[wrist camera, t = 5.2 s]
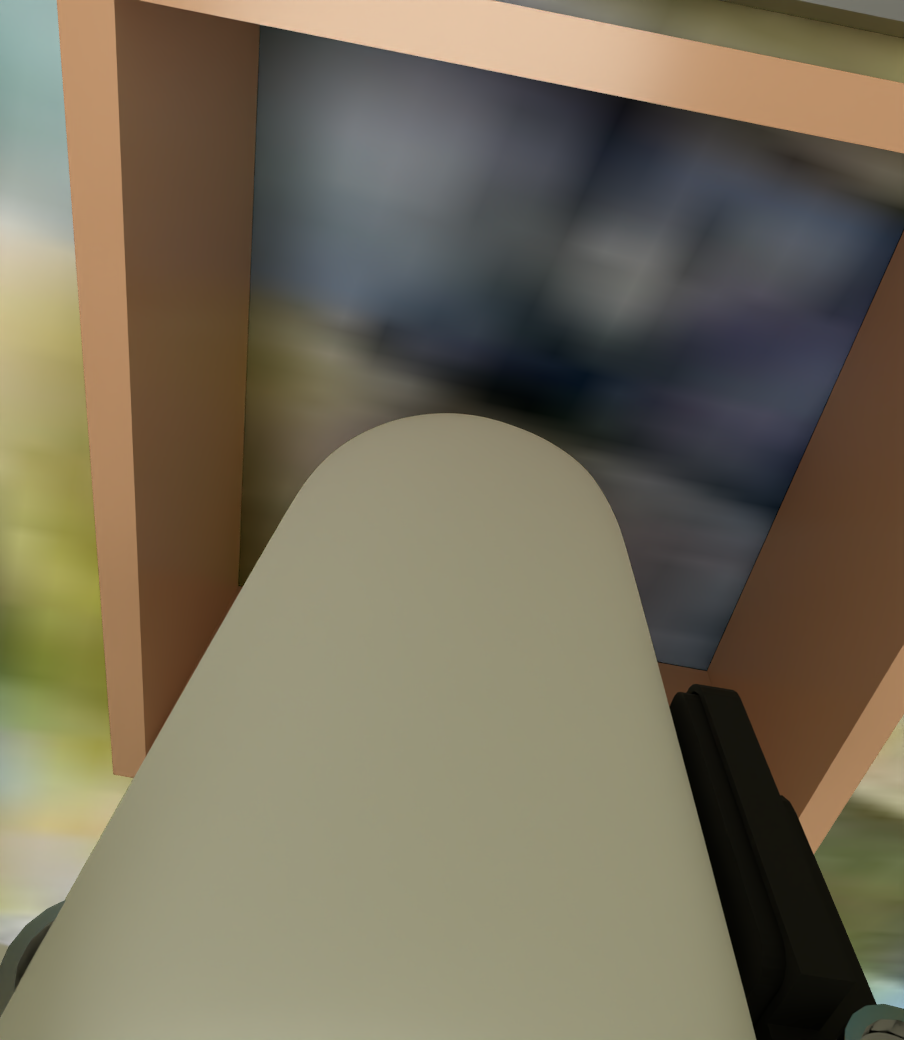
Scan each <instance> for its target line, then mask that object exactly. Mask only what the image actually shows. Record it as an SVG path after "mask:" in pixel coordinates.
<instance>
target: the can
mask: <svg viewBox="0 0 904 1040" xmlns="http://www.w3.org/2000/svg"><path fill="white" fill-rule="evenodd" d="M65 900H66V901H65ZM65 900H64V901H65V903H64V904H63V906H62V908H61V910H60V911H59V913H58V915H57V917H56V919H55V920H54V922H53V923H52V925H51V927H50V928H49V930H48V932H47V933H46V935H45V937H44V939H43V940H42V942H41V944H40V945H39V947H38V949H37V951H36V952H35V954H34V956H33V958H32V960H31V961H30V963H29V965H28V967H27V968H26V970H25V972H24V974H23V976H22V977H21V979H20V981H19V983H18V985H17V987H16V989H15V992H14V994H13V995H12V997H11V999H10V1001H9V1003H8V1004H7V1006H6V1008H5V1010H4V1012H3V1013H2V1015H1V1017H0V1040H756V1036H755V1032H754V1028H753V1025H752V1021H751V1017H750V1013H749V1009H748V1005H747V1001H746V997H745V993H744V989H743V986H742V982H741V978H740V974H739V970H738V966H737V963H736V959H735V955H734V951H733V947H732V944H731V940H730V936H729V932H728V928H727V924H726V921H725V917H724V913H723V909H722V905H721V901H720V898H719V894H718V890H717V886H716V882H715V878H714V875H713V871H712V867H711V863H710V859H709V855H708V852H707V848H706V844H705V840H704V836H703V833H702V829H701V825H700V821H699V818H698V814H697V810H696V806H695V802H694V799H693V795H692V791H691V787H690V783H689V780H688V776H687V772H686V768H685V765H684V761H683V757H682V753H681V749H680V746H679V742H678V738H677V734H676V730H675V727H674V723H673V719H672V715H671V712H670V708H669V704H668V700H667V697H666V693H665V689H664V685H663V682H662V678H661V674H660V670H659V667H658V663H657V659H656V656H655V652H654V648H653V644H652V641H651V637H650V633H649V629H648V626H647V622H646V618H645V615H644V611H643V607H642V604H641V600H640V596H639V593H638V589H637V585H636V582H635V578H634V574H633V571H632V567H631V564H630V560H629V557H628V553H627V550H626V546H625V543H624V540H623V537H622V534H621V530H620V527H619V525H618V522H617V520H616V517H615V515H614V513H613V511H612V509H611V507H610V505H609V503H608V501H607V499H606V497H605V495H604V494H603V492H602V490H601V489H600V487H599V486H598V484H597V483H596V481H595V480H594V479H593V477H592V476H591V475H590V474H589V472H588V471H587V470H586V469H585V468H584V467H583V466H582V465H581V464H580V463H579V462H578V461H576V460H575V459H574V458H573V457H572V456H570V455H569V454H568V453H566V452H565V451H563V450H562V449H560V448H559V447H557V446H556V445H554V444H552V443H550V442H549V441H547V440H545V439H543V438H541V437H539V436H537V435H535V434H533V433H531V432H528V431H526V430H523V429H521V428H518V427H515V426H513V425H510V424H507V423H504V422H501V421H497V420H493V419H490V418H485V417H481V416H475V415H468V414H457V413H436V414H424V415H417V416H411V417H406V418H402V419H398V420H394V421H391V422H388V423H385V424H382V425H379V426H377V427H374V428H372V429H370V430H368V431H365V432H363V433H362V434H360V435H358V436H356V437H354V438H353V439H351V440H349V441H348V442H346V443H345V444H343V445H342V446H340V447H339V448H338V449H336V450H335V451H334V452H333V453H332V454H330V455H329V456H328V457H327V458H326V459H325V460H324V461H323V462H322V463H321V464H320V465H319V466H318V467H317V468H316V469H315V471H314V472H313V473H312V474H311V475H310V477H309V478H308V479H307V480H306V482H305V483H304V485H303V486H302V488H301V489H300V491H299V492H298V494H297V495H296V497H295V498H294V500H293V502H292V503H291V505H290V507H289V508H288V510H287V512H286V513H285V515H284V517H283V518H282V520H281V522H280V524H279V525H278V527H277V529H276V530H275V532H274V534H273V535H272V537H271V539H270V541H269V542H268V544H267V546H266V548H265V549H264V551H263V553H262V554H261V556H260V558H259V560H258V561H257V563H256V565H255V567H254V568H253V570H252V572H251V573H250V575H249V577H248V579H247V580H246V582H245V584H244V586H243V587H242V589H241V591H240V593H239V594H238V596H237V598H236V600H235V601H234V603H233V605H232V607H231V608H230V610H229V612H228V614H227V615H226V617H225V619H224V621H223V622H222V624H221V626H220V627H219V629H218V631H217V633H216V634H215V636H214V638H213V640H212V641H211V643H210V645H209V647H208V648H207V650H206V652H205V654H204V655H203V657H202V659H201V661H200V662H199V664H198V666H197V668H196V669H195V671H194V673H193V675H192V676H191V678H190V680H189V682H188V684H187V685H186V687H185V689H184V691H183V692H182V694H181V696H180V698H179V699H178V701H177V703H176V705H175V706H174V708H173V710H172V712H171V713H170V715H169V717H168V719H167V720H166V722H165V724H164V726H163V727H162V729H161V731H160V733H159V734H158V736H157V738H156V740H155V741H154V743H153V745H152V747H151V749H150V750H149V752H148V754H147V756H146V757H145V759H144V761H143V763H142V764H141V766H140V768H139V770H138V771H137V773H136V775H135V777H134V778H133V780H132V782H131V784H130V786H129V787H128V789H127V791H126V793H125V794H124V796H123V798H122V800H121V801H120V803H119V805H118V807H117V809H116V810H115V812H114V814H113V816H112V817H111V819H110V821H109V823H108V824H107V826H106V828H105V830H104V831H103V833H102V835H101V837H100V839H99V840H98V842H97V844H96V846H95V847H94V849H93V851H92V853H91V854H90V856H89V858H88V860H87V862H86V863H85V865H84V867H83V869H82V870H81V872H80V874H79V876H78V877H77V879H76V881H75V883H74V885H73V886H72V888H71V890H70V892H69V893H68V895H67V897H66V899H65Z"/></svg>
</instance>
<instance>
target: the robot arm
mask: <svg viewBox="0 0 904 1040" xmlns="http://www.w3.org/2000/svg"><path fill="white" fill-rule="evenodd" d="M669 708H670V712H671V715H672V719H673V723H674V727H675V730H676V734H677V738H678V742H679V746H680V749H681V753H682V757H683V761H684V765H685V768H686V772H687V776H688V780H689V783H690V787H691V791H692V795H693V799H694V802H695V806H696V810H697V814H698V818H699V821H700V825H701V829H702V833H703V836H704V840H705V844H706V848H707V852H708V855H709V859H710V863H711V867H712V871H713V875H714V878H715V882H716V886H717V890H718V894H719V898H720V901H721V905H722V909H723V913H724V917H725V921H726V924H727V928H728V932H729V936H730V940H731V944H732V947H733V951H734V955H735V959H736V963H737V966H738V970H739V974H740V978H741V982H742V986H743V989H744V993H745V997H746V1001H747V1005H748V1009H749V1013H750V1017H751V1021H752V1025H753V1028H754V1032H755V1036H756V1040H904V1009H902V1008H898V1007H894V1006H890V1005H886V1004H878V1005H877V1004H876V1002H875V999H874V997H873V995H872V992H871V990H870V987H869V985H868V983H867V980H866V978H865V976H864V973H863V971H862V968H861V966H860V964H859V961H858V959H857V957H856V954H855V952H854V949H853V947H852V945H851V942H850V940H849V937H848V935H847V933H846V930H845V928H844V926H843V923H842V921H841V918H840V916H839V914H838V911H837V909H836V907H835V904H834V902H833V899H832V897H831V895H830V892H829V890H828V887H827V885H826V883H825V880H824V878H823V876H822V873H821V871H820V868H819V866H818V864H817V861H816V859H815V856H814V854H813V852H812V849H811V847H810V845H809V842H808V840H807V837H806V835H805V833H804V830H803V828H802V826H801V823H800V821H799V818H798V816H797V814H796V812H795V810H794V808H793V806H792V804H791V803H790V801H789V800H787V799H786V798H785V797H784V796H783V795H780V793H779V791H778V789H777V786H776V784H775V781H774V779H773V776H772V774H771V771H770V769H769V766H768V764H767V762H766V759H765V757H764V754H763V752H762V749H761V747H760V744H759V742H758V740H757V737H756V735H755V732H754V730H753V727H752V725H751V722H750V720H749V717H748V715H747V713H746V710H745V708H744V705H743V703H742V700H741V698H740V696H739V694H738V693H737V692H736V691H734V690H731V689H725V688H719V687H712V686H706V685H700V684H693V685H692V686H690V687H689V689H688V691H687V692H686V693H684V692H677V693H676V694H675V696H674V698H673V700H672V702H671V704H670V707H669ZM65 901H66V900H65ZM65 901H63V902H60V903H58V904H56V905H54V906H52V907H50V908H48V909H46V910H45V911H44V912H43V913H41V914H40V915H39V916H37V917H36V918H35V919H34V920H32V921H31V922H30V923H28V924H27V925H26V926H25V927H24V928H23V930H22V931H21V932H20V933H19V935H18V936H17V937H16V938H15V940H14V941H13V942H12V943H11V945H10V946H9V947H8V949H7V951H6V954H5V956H4V958H3V960H2V963H1V965H0V1017H1V1015H2V1013H3V1012H4V1010H5V1008H6V1006H7V1004H8V1003H9V1001H10V999H11V997H12V995H13V994H14V992H15V989H16V987H17V985H18V983H19V981H20V979H21V977H22V976H23V974H24V972H25V970H26V968H27V967H28V965H29V963H30V961H31V960H32V958H33V956H34V954H35V952H36V951H37V949H38V947H39V945H40V944H41V942H42V940H43V939H44V937H45V935H46V933H47V932H48V930H49V928H50V927H51V925H52V923H53V922H54V920H55V919H56V917H57V915H58V913H59V911H60V910H61V908H62V906H63V904H64V903H65Z"/></svg>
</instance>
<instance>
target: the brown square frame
mask: <svg viewBox="0 0 904 1040" xmlns="http://www.w3.org/2000/svg"><path fill="white" fill-rule="evenodd" d="M57 9H58V22H59V36H60V50H61V63H62V77H63V91H64V104H65V118H66V132H67V146H68V159H69V173H70V187H71V200H72V214H73V228H74V241H75V255H76V269H77V282H78V296H79V310H80V323H81V337H82V351H83V365H84V378H85V392H86V406H87V419H88V433H89V447H90V460H91V474H92V488H93V501H94V515H95V529H96V543H97V556H98V570H99V584H100V597H101V611H102V625H103V638H104V652H105V666H106V679H107V693H108V707H109V721H110V734H111V748H112V762H113V774H114V775H120V776H126V777H131V778H134V777H135V775H136V773H137V771H138V770H139V768H140V766H141V764H142V763H143V761H144V759H145V757H146V756H147V754H148V752H149V750H150V749H151V747H152V745H153V743H154V741H155V740H156V738H157V736H158V734H159V733H160V731H161V729H162V727H163V726H164V724H165V722H166V720H167V719H168V717H169V715H170V713H171V712H172V710H173V708H174V706H175V705H176V703H177V701H178V699H179V698H180V696H181V694H182V692H183V691H184V689H185V687H186V685H187V684H188V682H189V680H190V678H191V676H192V675H193V673H194V671H195V669H196V668H197V666H198V664H199V662H200V661H201V659H202V657H203V655H204V654H205V652H206V650H207V648H208V647H209V645H210V643H211V641H212V640H213V638H214V636H215V634H216V633H217V631H218V629H219V627H220V626H221V624H222V622H223V621H224V619H225V617H226V615H227V614H228V612H229V610H230V608H231V607H232V605H233V603H234V601H235V600H236V598H237V596H238V594H239V593H240V591H241V589H242V587H241V586H238V580H239V554H240V528H241V502H242V476H243V450H244V424H245V399H246V373H247V347H248V321H249V295H250V269H251V243H252V217H253V191H254V165H255V140H256V114H257V88H258V62H259V36H260V25H265V26H270V27H275V28H280V29H285V30H290V31H295V32H300V33H305V34H310V35H315V36H320V37H325V38H330V39H335V40H340V41H345V42H350V43H355V44H360V45H365V46H370V47H375V48H380V49H385V50H390V51H395V52H400V53H405V54H410V55H415V56H420V57H425V58H430V59H435V60H440V61H445V62H450V63H455V64H460V65H465V66H470V67H475V68H480V69H485V70H490V71H495V72H500V73H505V74H510V75H515V76H520V77H525V78H530V79H535V80H540V81H545V82H550V83H555V84H560V85H565V86H570V87H575V88H580V89H585V90H590V91H595V92H600V93H605V94H610V95H615V96H620V97H625V98H630V99H635V100H640V101H645V102H650V103H655V104H660V105H665V106H670V107H675V108H680V109H685V110H690V111H695V112H700V113H705V114H710V115H715V116H720V117H725V118H730V119H735V120H740V121H745V122H750V123H755V124H760V125H765V126H770V127H775V128H780V129H785V130H790V131H795V132H800V133H805V134H810V135H815V136H820V137H825V138H830V139H835V140H840V141H845V142H850V143H855V144H860V145H865V146H870V147H875V148H880V149H885V150H890V151H895V152H900V153H904V83H899V82H894V81H889V80H884V79H879V78H874V77H869V76H864V75H860V74H855V73H850V72H845V71H840V70H835V69H830V68H825V67H820V66H815V65H810V64H805V63H800V62H795V61H790V60H785V59H780V58H776V57H771V56H766V55H761V54H756V53H751V52H746V51H741V50H736V49H731V48H726V47H721V46H716V45H711V44H706V43H701V42H696V41H692V40H687V39H682V38H677V37H672V36H667V35H662V34H657V33H652V32H647V31H642V30H637V29H632V28H627V27H622V26H617V25H612V24H608V23H603V22H598V21H593V20H588V19H583V18H578V17H573V16H568V15H563V14H558V13H553V12H548V11H543V10H538V9H533V8H528V7H524V6H519V5H514V4H509V3H504V2H499V1H494V0H57ZM657 663H658V667H659V670H660V674H661V678H662V682H663V685H664V689H665V693H666V697H667V700H668V704H669V707H670V704H671V702H672V700H673V698H674V696H675V694H676V693H677V692H684V693H686V692H687V691H688V689H689V687H690V686H692V685H693V684H700V685H706V686H712V687H719V688H725V689H731V690H734V691H736V692H737V693H738V694H739V696H740V698H741V700H742V703H743V705H744V708H745V710H746V713H747V715H748V717H749V720H750V722H751V725H752V727H753V730H754V732H755V735H756V737H757V740H758V742H759V744H760V747H761V749H762V752H763V754H764V757H765V759H766V762H767V764H768V766H769V769H770V771H771V774H772V776H773V779H774V781H775V784H776V786H777V789H778V791H779V793H780V795H783V796H784V797H785V798H786V799H787V800H789V801H790V803H791V804H792V806H793V808H794V810H795V812H796V814H797V816H798V818H799V821H800V823H801V826H802V828H803V830H804V833H805V835H806V837H807V840H808V842H809V845H810V847H811V849H812V852H813V854H814V853H815V852H816V850H817V849H818V847H819V845H820V844H821V842H822V841H823V839H824V838H825V836H826V835H827V833H828V831H829V830H830V828H831V827H832V825H833V824H834V822H835V821H836V819H837V817H838V816H839V814H840V813H841V811H842V810H843V808H844V806H845V805H846V803H847V802H848V800H849V799H850V797H851V796H852V794H853V792H854V791H855V789H856V788H857V786H858V785H859V783H860V782H861V780H862V778H863V777H864V775H865V774H866V772H867V771H868V769H869V767H870V766H871V764H872V763H873V761H874V760H875V758H876V757H877V755H878V753H879V752H880V750H881V749H882V747H883V746H884V744H885V743H886V741H887V739H888V738H889V736H890V735H891V733H892V732H893V730H894V728H895V727H896V725H897V724H898V722H899V721H900V719H901V718H902V716H903V714H904V232H903V234H902V236H901V238H900V241H899V243H898V245H897V247H896V249H895V252H894V254H893V256H892V258H891V261H890V263H889V265H888V267H887V270H886V272H885V274H884V276H883V279H882V281H881V283H880V285H879V287H878V290H877V292H876V294H875V296H874V299H873V301H872V303H871V305H870V308H869V310H868V312H867V314H866V317H865V319H864V321H863V323H862V326H861V328H860V330H859V332H858V334H857V337H856V339H855V341H854V343H853V346H852V348H851V350H850V352H849V355H848V357H847V359H846V361H845V364H844V366H843V368H842V370H841V373H840V375H839V377H838V379H837V381H836V384H835V386H834V388H833V390H832V393H831V395H830V397H829V399H828V402H827V404H826V406H825V408H824V411H823V413H822V415H821V417H820V419H819V422H818V424H817V426H816V428H815V431H814V433H813V435H812V437H811V440H810V442H809V444H808V446H807V449H806V451H805V453H804V455H803V458H802V460H801V462H800V464H799V466H798V469H797V471H796V473H795V475H794V478H793V480H792V482H791V484H790V487H789V489H788V491H787V493H786V496H785V498H784V500H783V502H782V505H781V507H780V509H779V511H778V513H777V516H776V518H775V520H774V522H773V525H772V527H771V529H770V531H769V534H768V536H767V538H766V540H765V543H764V545H763V547H762V549H761V551H760V554H759V556H758V558H757V560H756V563H755V565H754V567H753V569H752V572H751V574H750V576H749V578H748V581H747V583H746V585H745V587H744V590H743V592H742V594H741V596H740V598H739V601H738V603H737V605H736V607H735V610H734V612H733V614H732V616H731V619H730V621H729V623H728V625H727V628H726V630H725V632H724V634H723V637H722V639H721V641H720V643H719V645H718V648H717V650H716V652H715V654H714V657H713V659H712V661H711V663H710V666H709V668H708V670H707V671H702V670H697V669H691V668H686V667H681V666H675V665H670V664H664V663H659V662H657Z"/></svg>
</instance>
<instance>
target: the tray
mask: <svg viewBox="0 0 904 1040" xmlns="http://www.w3.org/2000/svg"><path fill="white" fill-rule="evenodd" d="M720 1H724V2H729V3H734V4H739V5H744V6H749V7H754V8H759V9H764V10H769V11H773V12H778V13H783V14H788V15H793V16H798V17H803V18H808V19H813V20H818V21H823V22H827V23H832V24H837V25H842V26H847V27H852V28H857V29H862V30H867V31H872V32H877V33H881V34H886V35H891V36H896V37H901V38H904V0H720Z"/></svg>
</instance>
